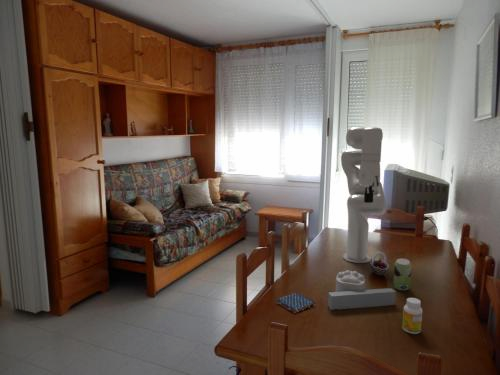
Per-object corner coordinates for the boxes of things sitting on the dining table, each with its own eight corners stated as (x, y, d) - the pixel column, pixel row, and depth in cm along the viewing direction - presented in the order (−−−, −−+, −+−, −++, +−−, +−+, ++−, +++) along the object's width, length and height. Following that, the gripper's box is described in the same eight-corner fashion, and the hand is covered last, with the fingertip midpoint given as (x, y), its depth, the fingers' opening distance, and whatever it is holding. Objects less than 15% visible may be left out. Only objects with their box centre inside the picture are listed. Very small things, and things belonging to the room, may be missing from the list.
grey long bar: (327, 305, 130) (328, 292, 129) (390, 301, 134) (391, 288, 133) (331, 309, 127) (331, 296, 126) (394, 304, 131) (395, 291, 130)
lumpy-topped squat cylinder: (334, 300, 134) (335, 278, 133) (337, 286, 146) (338, 265, 145) (364, 304, 131) (365, 281, 130) (364, 290, 143) (365, 268, 142)
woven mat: (274, 304, 132) (274, 298, 132) (296, 296, 138) (296, 291, 138) (294, 315, 124) (294, 310, 123) (316, 307, 130) (316, 301, 130)
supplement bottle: (398, 325, 117) (400, 296, 115) (415, 324, 117) (417, 296, 116) (407, 334, 112) (409, 304, 110) (424, 334, 112) (426, 304, 111)
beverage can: (409, 286, 147) (411, 257, 145) (410, 294, 140) (413, 264, 138) (392, 284, 149) (394, 255, 147) (393, 291, 142) (395, 261, 140)
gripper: (354, 157, 156) (352, 199, 159) (371, 159, 142) (368, 206, 145) (370, 156, 158) (368, 198, 160) (389, 159, 143) (386, 205, 146)
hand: (368, 202), depth 153 cm, fingers closed
